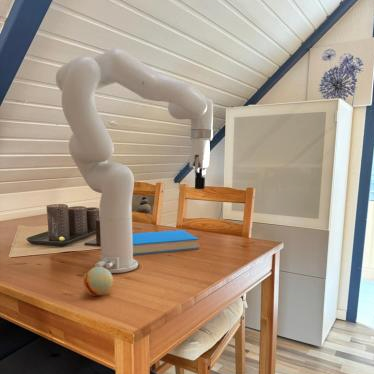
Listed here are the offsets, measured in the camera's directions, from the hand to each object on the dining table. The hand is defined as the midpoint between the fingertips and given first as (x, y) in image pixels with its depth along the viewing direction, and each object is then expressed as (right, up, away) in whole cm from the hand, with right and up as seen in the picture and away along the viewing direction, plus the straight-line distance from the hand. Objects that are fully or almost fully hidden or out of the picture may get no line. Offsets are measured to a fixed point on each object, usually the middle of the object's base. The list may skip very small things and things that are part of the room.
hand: (199, 188), depth 124 cm
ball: (-26, -29, -38) cm, 55 cm away
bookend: (-38, -20, +16) cm, 45 cm away
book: (-15, -21, +8) cm, 27 cm away
